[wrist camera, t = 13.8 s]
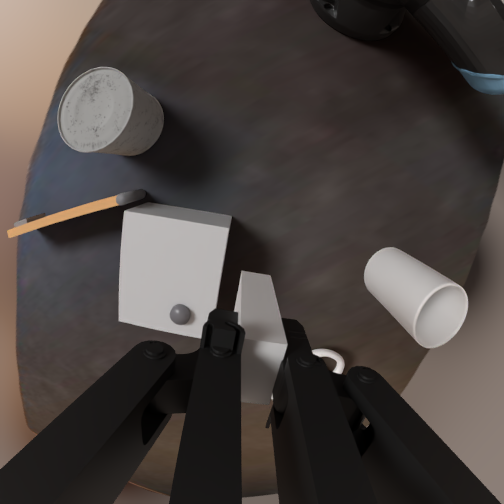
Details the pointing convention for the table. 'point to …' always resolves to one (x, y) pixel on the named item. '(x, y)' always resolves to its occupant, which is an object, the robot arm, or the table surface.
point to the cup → (417, 296)
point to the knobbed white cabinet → (171, 267)
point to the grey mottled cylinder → (109, 114)
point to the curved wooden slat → (74, 212)
